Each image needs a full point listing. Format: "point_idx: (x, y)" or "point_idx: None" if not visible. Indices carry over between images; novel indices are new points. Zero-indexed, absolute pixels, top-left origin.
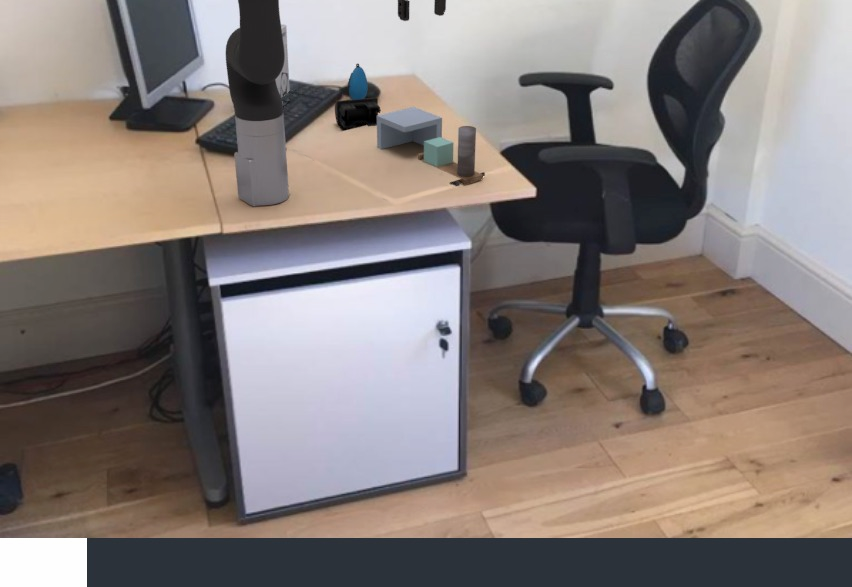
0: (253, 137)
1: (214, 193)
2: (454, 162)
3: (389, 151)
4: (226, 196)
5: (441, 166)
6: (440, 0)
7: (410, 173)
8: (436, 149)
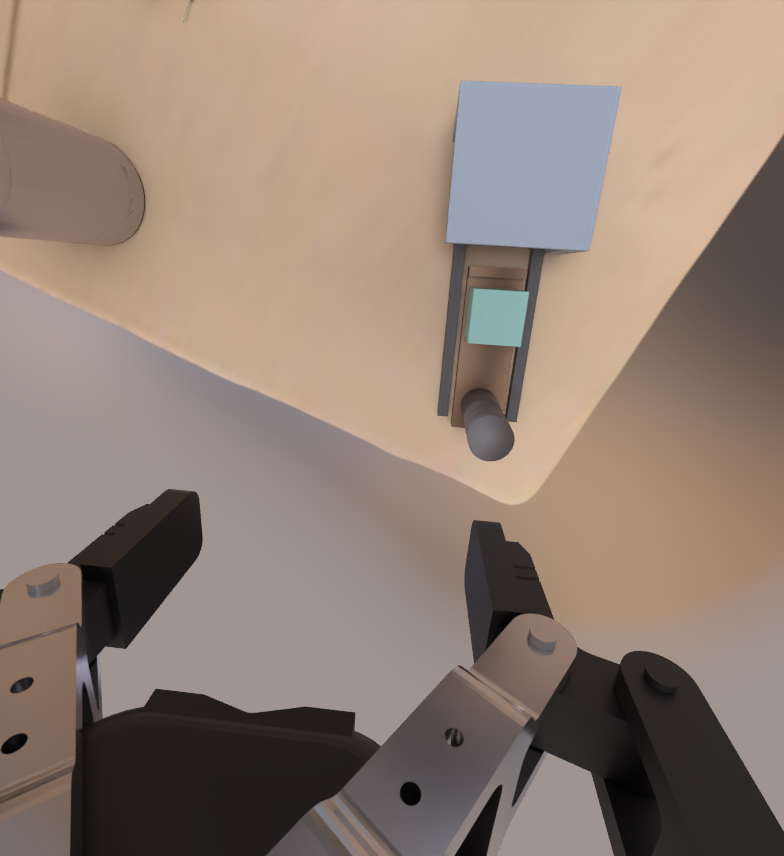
0: None
1: (8, 87)
2: None
3: None
4: None
5: None
6: (477, 645)
7: (417, 297)
8: (467, 338)
